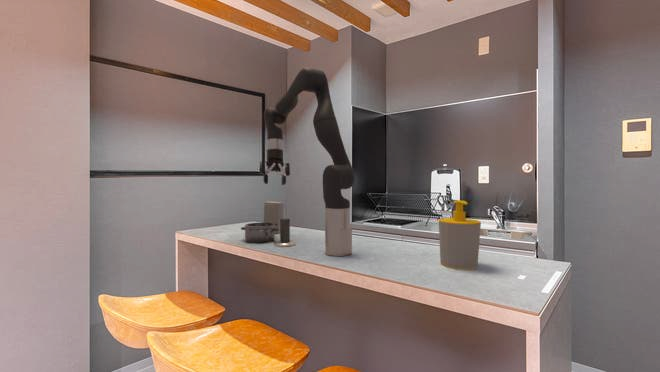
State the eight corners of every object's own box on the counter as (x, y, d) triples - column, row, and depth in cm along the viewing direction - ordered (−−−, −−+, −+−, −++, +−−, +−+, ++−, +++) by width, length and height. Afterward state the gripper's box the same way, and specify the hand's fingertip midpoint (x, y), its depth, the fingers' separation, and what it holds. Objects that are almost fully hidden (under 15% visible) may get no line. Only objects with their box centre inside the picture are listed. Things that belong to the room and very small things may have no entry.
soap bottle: (453, 271, 105) (454, 202, 104) (430, 261, 118) (430, 199, 117) (489, 268, 109) (490, 201, 108) (462, 258, 121) (463, 198, 120)
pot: (283, 238, 158) (283, 223, 158) (272, 244, 146) (272, 227, 146) (248, 237, 162) (248, 222, 162) (235, 242, 150) (235, 226, 149)
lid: (300, 244, 146) (300, 218, 145) (283, 248, 139) (283, 221, 138) (286, 241, 152) (286, 216, 151) (269, 244, 145) (269, 218, 145)
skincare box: (262, 233, 172) (262, 202, 172) (269, 231, 179) (269, 201, 179) (278, 234, 170) (278, 202, 169) (284, 232, 177) (284, 201, 176)
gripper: (263, 146, 153) (263, 182, 151) (292, 150, 161) (292, 184, 159) (257, 149, 159) (257, 184, 157) (285, 153, 167) (285, 186, 165)
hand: (274, 184), depth 158 cm, fingers open, 8 cm apart
